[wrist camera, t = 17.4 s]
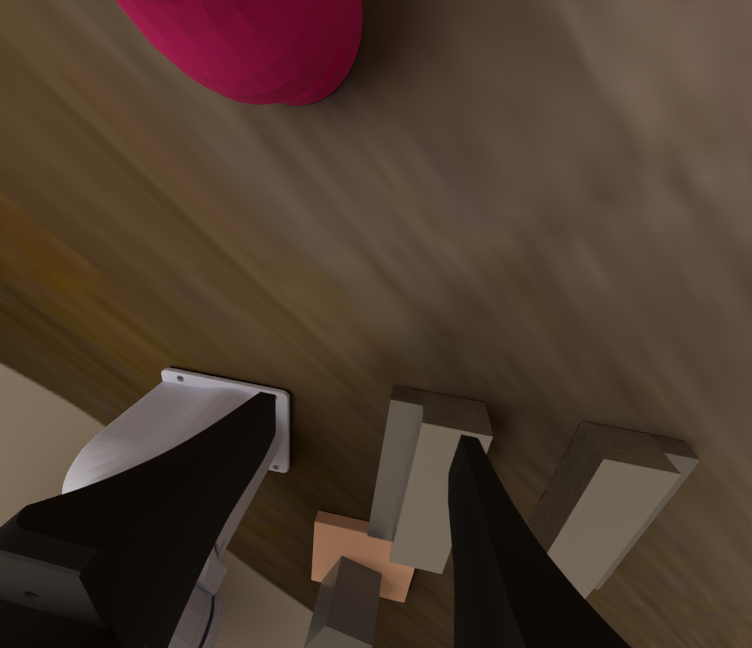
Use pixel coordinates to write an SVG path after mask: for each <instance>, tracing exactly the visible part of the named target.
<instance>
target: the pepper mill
mask: <svg viewBox="0 0 752 648" xmlns="http://www.w3.org/2000/svg"><path fill="white" fill-rule="evenodd" d="M116 2H117V3H118V4H119V5H120V6H121V8H122V9H123V10H124V11H125V13H126V14H127V15H128V16H129V17H130V19H131V20H132V21H133V22H134V24H135V25H136V26H137V27H138V29H139V30H140V31H141V32H142V33H143V35H144V36H145V37H146V38H147V39H148V40H149V41H150V42H151V44H152V45H153V46H154V47H155V48H156V49H158V50H159V51H160V52H161V53H162V54H163V55H164V56H166V57H167V58H168V59H169V60H170V61H171V62H172V63H174V64H175V65H176V66H177V67H178V68H179V69H180V70H182V71H183V72H184V73H185V74H186V75H187V76H189V77H191V78H192V79H194V80H195V81H197V82H198V83H200V84H201V85H203V86H205V87H207V88H209V89H211V90H213V91H215V92H217V93H219V94H221V95H223V96H225V97H227V98H230V99H233V100H236V101H239V102H243V103H249V104H272V103H283V104H287V105H294V106H297V105H307V104H310V103H314V102H317V101H319V100H321V99H323V98H325V97H326V96H328V95H329V94H331V93H332V92H333V91H334V90H335V89H336V88H337V87H338V86H339V85H340V84H341V83H342V81H343V80H344V79H345V77H346V76H347V74H348V73H349V71H350V69H351V67H352V65H353V63H354V61H355V58H356V55H357V52H358V49H359V45H360V40H361V34H362V23H363V8H362V0H116Z"/></svg>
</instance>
